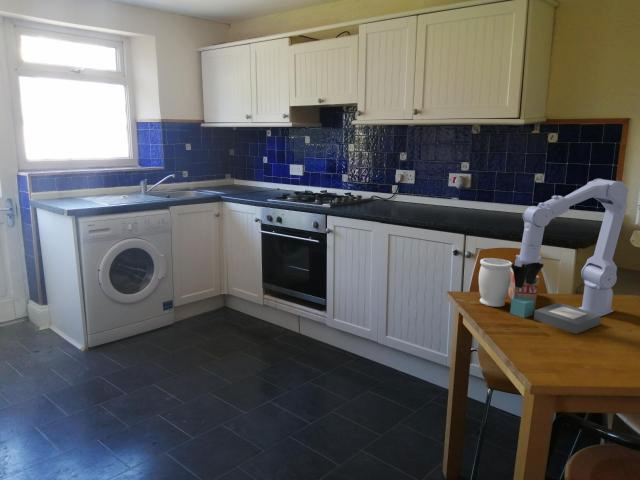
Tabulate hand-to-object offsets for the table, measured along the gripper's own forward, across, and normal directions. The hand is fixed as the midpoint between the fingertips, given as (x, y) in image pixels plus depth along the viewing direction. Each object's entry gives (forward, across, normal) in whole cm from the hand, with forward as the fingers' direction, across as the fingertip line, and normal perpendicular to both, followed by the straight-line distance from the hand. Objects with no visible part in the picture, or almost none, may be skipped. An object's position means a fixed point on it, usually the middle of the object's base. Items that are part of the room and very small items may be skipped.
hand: (524, 285), depth 162 cm
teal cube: (+10, -2, 0) cm, 10 cm away
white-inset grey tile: (+9, -6, +13) cm, 17 cm away
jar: (+11, -4, -12) cm, 16 cm away
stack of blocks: (+10, -15, -7) cm, 19 cm away
